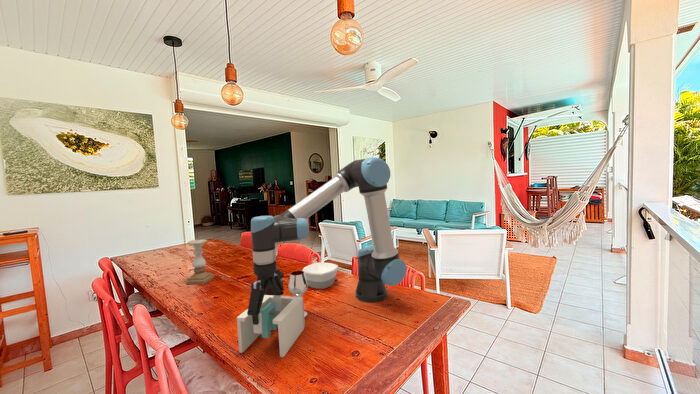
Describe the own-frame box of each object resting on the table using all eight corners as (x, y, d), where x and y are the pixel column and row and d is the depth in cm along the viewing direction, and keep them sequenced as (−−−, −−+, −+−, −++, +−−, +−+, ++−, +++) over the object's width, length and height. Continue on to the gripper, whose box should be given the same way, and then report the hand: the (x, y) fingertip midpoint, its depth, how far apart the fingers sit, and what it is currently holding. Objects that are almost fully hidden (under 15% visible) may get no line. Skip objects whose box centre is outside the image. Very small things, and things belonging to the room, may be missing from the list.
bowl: (344, 281, 152) (343, 264, 152) (324, 293, 137) (323, 275, 137) (318, 276, 162) (317, 260, 161) (297, 287, 147) (296, 270, 146)
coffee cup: (279, 307, 124) (277, 274, 123) (259, 306, 126) (257, 274, 125) (288, 298, 134) (286, 267, 133) (269, 297, 136) (267, 267, 135)
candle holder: (204, 284, 158) (201, 242, 156) (185, 285, 158) (182, 243, 157) (214, 277, 169) (211, 238, 167) (196, 278, 169) (193, 239, 168)
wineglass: (300, 321, 111) (297, 277, 109) (285, 317, 115) (282, 274, 114) (313, 313, 117) (311, 271, 116) (299, 309, 122) (296, 268, 121)
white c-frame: (304, 327, 106) (303, 297, 105) (283, 357, 89) (281, 320, 88) (267, 324, 110) (265, 294, 109) (239, 352, 92) (236, 317, 91)
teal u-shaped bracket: (277, 327, 99) (275, 302, 98) (268, 338, 93) (266, 311, 92) (271, 327, 99) (269, 302, 99) (261, 337, 93) (259, 310, 93)
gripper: (272, 251, 107) (276, 305, 109) (231, 273, 83) (236, 341, 85) (290, 252, 106) (293, 306, 107) (254, 274, 81) (259, 344, 83)
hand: (268, 322), depth 96 cm, fingers open, 13 cm apart
